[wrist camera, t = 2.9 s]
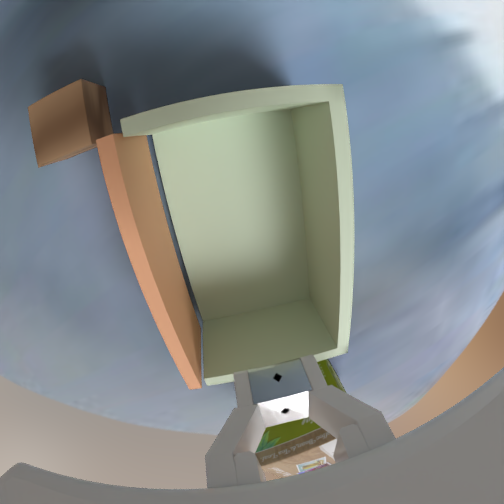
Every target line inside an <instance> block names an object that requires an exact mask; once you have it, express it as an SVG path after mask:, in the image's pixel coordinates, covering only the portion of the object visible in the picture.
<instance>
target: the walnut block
mask: <svg viewBox="0 0 504 504" xmlns="http://www.w3.org/2000/svg"><path fill="white" fill-rule="evenodd" d="M28 111H29V119H30V126H31V132H32V138H33V144H34V149H35V154H36V159H37V163H38V168H39V167H42V166H45V165H48V164H52V163H55V162H58V161H62V160H65V159H68V158H70V157H73V156H75V155H78V154H80V153H83V152H85V151H88V150H90V149H93V148H96V147H97V143H96V140H97V139H100V138H103V137H105V136H108V135H111V134H113V129H112V124H111V119H110V113H109V107H108V101H107V95H106V88H105V87H104V86H101V85H98V84H95V83H92V82H89V81H86V80H83V79H80V80H77V81H75V82H73V83H71V84H69V85H67V86H65V87H63V88H61V89H59V90H57V91H55V92H53V93H51V94H50V95H48V96H46V97H44V98H42V99H41V100H39V101H37V102H35V103H34V104H32V105H30V106H29V107H28Z"/></svg>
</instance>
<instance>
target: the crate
mask: <svg viewBox="0 0 504 504" xmlns="http://www.w3.org/2000/svg"><path fill="white" fill-rule="evenodd" d="M120 122H121V128H122V133H123V137H130V136H141V135H152V137H153V142H154V147H155V151H156V156H157V160H158V165H159V169H160V174H161V178H162V182H163V186H164V190H165V194H166V199H167V202H168V206H169V210H170V214H171V218H172V222H173V225H174V229H175V233H176V236H177V240H178V243H179V247H180V250H181V254H182V257H183V261H184V264H185V267H186V271H187V274H188V277H189V280H190V284H191V287H192V290H193V293H194V296H195V299H196V302H197V305H198V308H199V311H200V314H201V317H202V320H203V361H204V380H205V382H206V384H207V386H209V385H216V384H222V383H228V382H233V381H234V377H233V375H234V372H239V371H244V370H249V369H255V368H260V367H265V366H270V365H273V364H277V363H281V362H285V361H289V360H292V359H296V358H301V357H304V356H308V355H314V357H315V359H316V361H317V362H318V361H322V360H325V359H329V358H332V357H335V356H338V355H341V354H345V353H348V344H349V335H350V324H351V311H352V296H353V276H354V197H353V176H352V161H351V149H350V138H349V129H348V120H347V112H346V104H345V97H344V91H343V84H319V85H294V86H280V87H269V88H259V89H251V90H243V91H236V92H230V93H224V94H218V95H212V96H207V97H202V98H197V99H192V100H188V101H183V102H179V103H175V104H171V105H167V106H163V107H159V108H156V109H152V110H149V111H145V112H142V113H138V114H135V115H132V116H129V117H126V118H123V119H120Z"/></svg>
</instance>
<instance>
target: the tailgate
mask: <svg viewBox="0 0 504 504" xmlns="http://www.w3.org/2000/svg"><path fill="white" fill-rule="evenodd" d="M96 143H97V148H98V153H99V157H100V161H101V166H102V170H103V174H104V178H105V182H106V185H107V189H108V193H109V196H110V200H111V203H112V207H113V210H114V213H115V217H116V220H117V223H118V226H119V229H120V232H121V235H122V238H123V241H124V244H125V247H126V250H127V253H128V255H129V258H130V261H131V264H132V266H133V269H134V272H135V274H136V277H137V279H138V282H139V284H140V287H141V289H142V292H143V294H144V297H145V299H146V301H147V304H148V306H149V308H150V311H151V313H152V315H153V318H154V320H155V322H156V324H157V326H158V329H159V331H160V333H161V335H162V337H163V339H164V341H165V343H166V345H167V347H168V349H169V351H170V353H171V355H172V357H173V359H174V361H175V363H176V365H177V367H178V369H179V371H180V373H181V375H182V377H183V378H184V380H185V382H186V384H187V386H188V388H189V389H190V390H191V389H198V388H202V382H201V328H200V325H199V322H198V319H197V316H196V314H195V311H194V308H193V305H192V302H191V299H190V296H189V293H188V290H187V287H186V284H185V281H184V278H183V274H182V271H181V268H180V265H179V262H178V258H177V255H176V252H175V248H174V245H173V241H172V238H171V234H170V231H169V227H168V224H167V220H166V216H165V213H164V209H163V205H162V201H161V197H160V193H159V189H158V185H157V181H156V177H155V173H154V168H153V164H152V159H151V155H150V150H149V146H148V141H147V136H146V135H141V136H130V137H123V133H118V134H111V135H108V136H105V137H103V138H100V139H97V140H96Z"/></svg>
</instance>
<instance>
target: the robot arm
mask: <svg viewBox="0 0 504 504" xmlns="http://www.w3.org/2000/svg"><path fill="white" fill-rule="evenodd" d="M233 377H234V384H235V391H236V398H237V405H238V408H234V409H233V411H232V413H231V414H230V416H229V418H228V419H227V421H226V423H225V424H224V426H223V428H222V429H221V431H220V433H219V434H218V436H217V438H216V439H215V441H214V443H213V444H212V446H211V448H210V449H209V451H208V452H207V454H206V455H205V462H206V476H207V489H147V488H135V487H125V486H117V485H109V484H103V483H97V482H92V481H86V480H82V479H77V478H73V477H68V476H64V475H60V474H57V473H53V472H50V471H46V470H43V469H40V468H37V467H34V466H31V465H29V464H26V463H17V464H16V465H14V466H13V467H11V468H10V469H9V470H8V471H7V472H6V473H5V474H3V475H2V476H1V477H0V504H504V368H502V369H501V370H500V371H499V372H498V373H497V374H495V375H494V376H493V377H492V378H491V379H489V380H488V381H487V382H486V383H484V384H483V385H482V386H481V387H479V388H478V389H477V390H475V391H474V392H473V393H472V394H470V395H469V396H467V397H466V398H464V399H463V400H462V401H460V402H459V403H457V404H456V405H455V406H453V407H451V408H450V409H448V410H447V411H445V412H443V413H442V414H440V415H439V416H437V417H435V418H434V419H432V420H430V421H429V422H427V423H425V424H423V425H421V426H420V427H418V428H416V429H414V430H413V431H410V432H409V433H407V434H405V435H403V436H401V437H399V438H397V439H396V438H395V437H394V435H393V433H392V431H391V429H390V427H389V425H388V423H387V422H386V420H385V418H384V416H383V414H382V412H381V411H379V410H377V409H375V408H373V407H371V406H369V405H367V404H365V403H364V402H362V401H360V400H358V399H356V398H354V397H352V396H351V395H349V394H347V393H345V392H343V391H342V390H340V389H338V388H336V387H334V386H333V385H329V386H328V385H327V383H326V381H325V379H324V376H323V374H322V372H321V370H320V368H319V366H318V363H317V361H316V359H315V357H314V355H308V356H304V357H301V358H296V359H292V360H289V361H285V362H281V363H277V364H273V365H270V366H265V367H260V368H255V369H249V370H244V371H239V372H234V375H233ZM307 417H309V418H310V419H311V420H312V421H314V422H315V423H316V424H318V425H319V426H320V427H322V428H323V429H324V430H326V431H327V432H328V433H330V434H331V435H332V436H334V437H335V438H336V439H337V443H336V447H335V451H334V455H333V457H334V460H335V464H332V465H329V466H326V467H323V468H319V469H316V470H312V471H309V472H305V473H301V474H297V475H293V476H289V477H285V478H280V479H275V480H270V481H266V478H265V474H264V472H263V470H262V468H261V465H260V463H259V461H258V459H257V457H256V455H255V452H256V450H257V448H258V445H259V443H260V441H261V438H262V436H263V433H264V431H265V428H266V427H270V426H274V425H278V424H282V423H286V422H290V421H294V420H299V419H303V418H307Z"/></svg>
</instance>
